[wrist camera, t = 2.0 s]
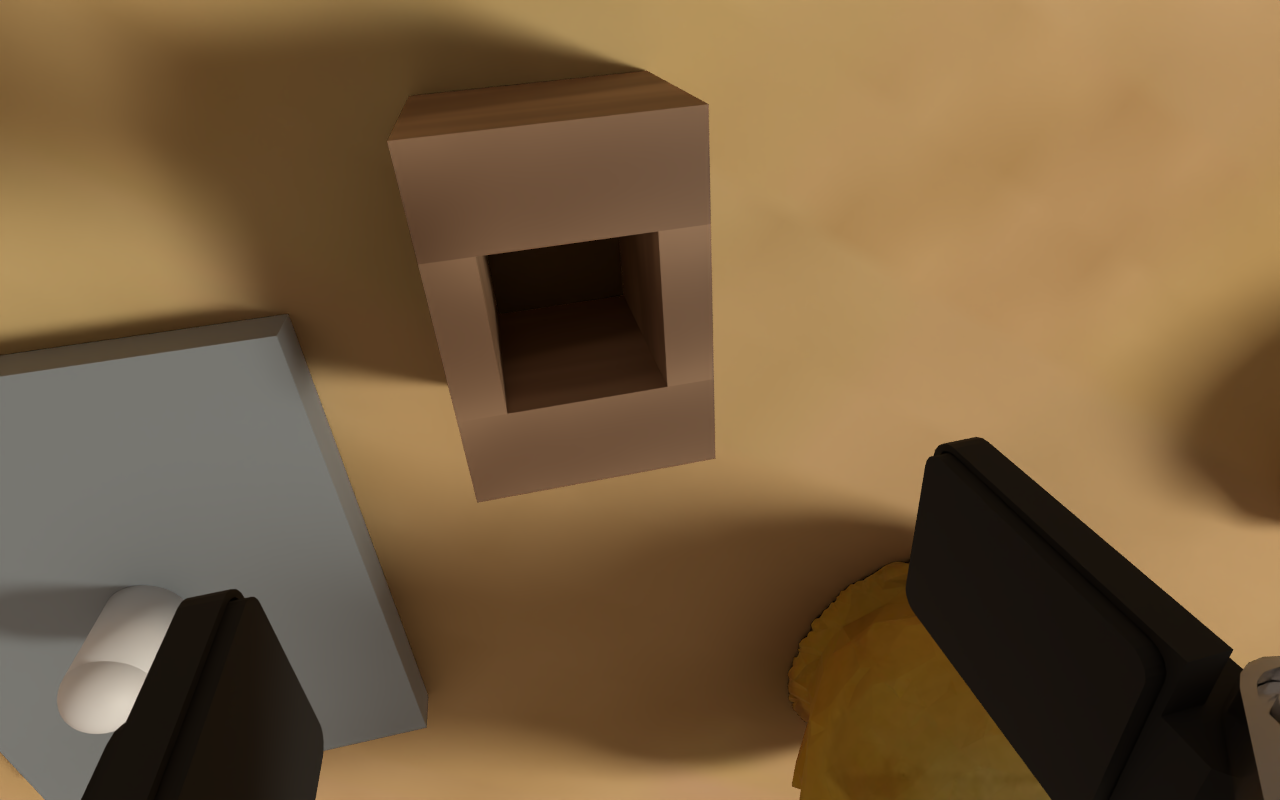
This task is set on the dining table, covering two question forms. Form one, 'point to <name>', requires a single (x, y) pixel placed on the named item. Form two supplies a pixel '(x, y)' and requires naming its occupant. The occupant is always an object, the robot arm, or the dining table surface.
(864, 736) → the pitcher
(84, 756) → the base plate
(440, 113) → the block
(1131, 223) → the dining table surface
